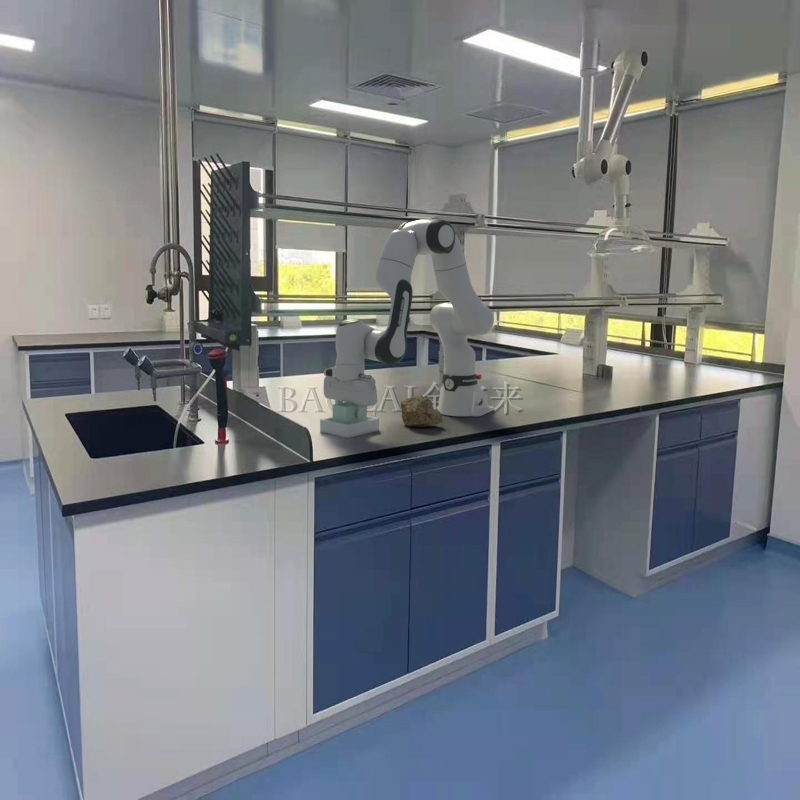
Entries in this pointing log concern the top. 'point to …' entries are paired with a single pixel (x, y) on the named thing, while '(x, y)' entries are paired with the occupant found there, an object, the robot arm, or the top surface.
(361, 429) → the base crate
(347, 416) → the box
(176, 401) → the top surface
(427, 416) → the rock
